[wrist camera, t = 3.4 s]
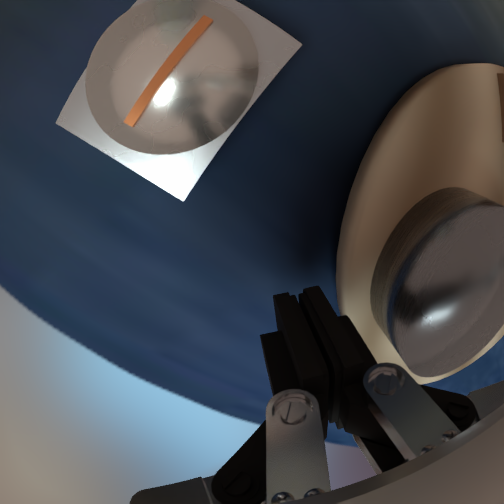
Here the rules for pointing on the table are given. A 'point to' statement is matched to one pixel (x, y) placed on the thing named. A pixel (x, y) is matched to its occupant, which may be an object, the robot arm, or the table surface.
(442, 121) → the turntable
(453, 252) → the disc
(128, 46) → the dial gauge
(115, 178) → the table surface
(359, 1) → the table surface
